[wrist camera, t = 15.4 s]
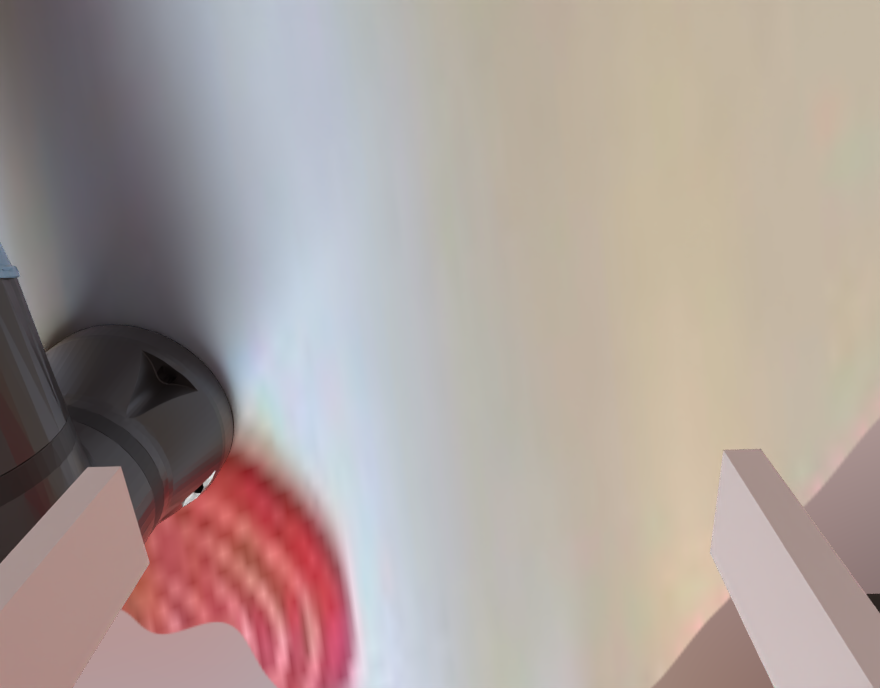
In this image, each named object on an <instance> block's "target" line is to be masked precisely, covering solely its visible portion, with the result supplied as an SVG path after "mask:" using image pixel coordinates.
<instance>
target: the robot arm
mask: <svg viewBox="0 0 880 688" xmlns="http://www.w3.org/2000/svg"><path fill="white" fill-rule="evenodd" d="M19 276H20V275H19V271H18V270H17V268H16V267H15V266H12V265H11V263H10V261H9V259H8V257H7V255H6V253H5V251H4V249H3V247H2V245H1V243H0V688H73V686H74V684H75V683H76V681H77V680H78V678H79V676H80V675H81V673H82V672H83V670H84V668H85V667H86V665H87V663H88V662H89V660H90V659H91V657H92V655H93V654H94V652H95V651H96V649H97V647H98V646H99V644H100V643H101V641H102V639H103V638H104V636H105V634H106V633H107V631H108V630H109V628H110V626H111V625H112V623H113V622H114V620H115V618H116V617H117V615H118V613H119V612H120V610H121V609H122V607H123V605H124V604H125V602H126V601H127V599H128V597H129V596H130V594H131V592H132V591H133V589H134V588H135V586H136V584H137V583H138V581H139V580H140V578H141V576H142V575H143V573H144V571H145V570H146V568H147V567H148V565H149V559H148V556H147V553H146V549H145V546H144V544H145V542H146V541H147V539H148V537H149V536H150V534H151V533H152V531H153V530H154V528H155V527H156V525H158V524H159V523H161V522H162V521H164V520H165V519H167V518H168V517H170V516H171V515H173V514H174V513H176V512H177V511H178V510H180V509H181V508H182V507H183V506H185V505H187V504H189V503H190V502H192V501H193V500H195V499H196V498H197V497H199V496H200V495H201V494H202V493H203V492H204V491H205V490H206V489H207V488H208V487H209V486H210V485H211V483H212V482H213V481H214V479H215V478H216V476H217V474H218V473H219V471H220V469H221V468H222V466H223V464H224V463H225V461H226V459H227V457H228V454H229V452H230V449H231V445H232V440H233V419H232V413H231V409H230V406H229V403H228V400H227V398H226V395H225V393H224V391H223V389H222V387H221V386H220V384H219V382H218V381H217V379H216V378H215V376H214V375H213V374H212V373H211V371H210V370H209V369H208V368H207V367H206V366H205V365H204V364H203V363H202V362H201V361H200V360H199V359H198V358H197V357H196V356H195V355H194V354H192V353H191V352H190V351H188V350H187V349H186V348H184V347H183V346H181V345H180V344H178V343H176V342H174V341H173V340H171V339H169V338H167V337H165V336H162V335H160V334H158V333H155V332H152V331H149V330H146V329H142V328H137V327H132V326H125V325H103V326H96V327H91V328H87V329H84V330H81V331H78V332H76V333H74V334H72V335H70V336H68V337H66V338H65V339H63V340H62V341H60V342H59V343H58V344H56V345H55V346H53V347H52V348H51V349H49V350H48V351H47V352H45V351H44V348H43V345H42V343H41V340H40V337H39V335H38V332H37V329H36V327H35V324H34V321H33V319H32V316H31V313H30V311H29V308H28V305H27V303H26V300H25V297H24V295H23V292H22V289H21V287H20V284H19V281H18V279H17V277H19ZM710 554H711V556H712V558H713V560H714V562H715V564H716V566H717V569H718V571H719V573H720V575H721V577H722V579H723V581H724V583H725V585H726V588H727V590H728V592H729V594H730V596H731V598H732V600H733V602H734V604H735V606H736V608H737V611H738V613H739V615H740V617H741V619H742V621H743V623H744V625H745V628H746V630H747V632H748V634H749V636H750V638H751V640H752V642H753V644H754V646H755V649H756V651H757V653H758V655H759V657H760V659H761V661H762V663H763V665H764V667H765V670H766V672H767V674H768V676H769V678H770V680H771V682H772V684H773V686H774V688H880V594H866V593H865V592H864V591H863V589H862V588H861V587H860V585H859V584H858V582H857V581H856V580H855V578H854V577H853V576H852V574H851V573H850V571H849V570H848V569H847V567H846V566H845V564H844V563H843V562H842V561H841V559H840V558H839V556H838V555H837V554H836V552H835V551H834V549H833V548H832V546H831V545H830V544H829V542H828V541H827V540H826V538H825V537H824V535H823V534H822V533H821V531H820V530H819V529H818V527H817V526H816V524H815V523H814V522H813V520H812V519H811V517H810V516H809V515H808V513H807V512H806V511H805V509H804V508H803V506H802V505H801V504H800V502H799V501H798V500H797V498H796V497H795V495H794V494H793V493H792V491H791V490H790V489H789V487H788V486H787V484H786V483H785V482H784V480H783V479H782V477H781V476H780V475H779V473H778V472H777V471H776V469H775V468H774V466H773V465H772V464H771V462H770V461H769V460H768V458H767V457H766V455H765V454H764V453H763V451H762V450H761V449H740V450H724V451H723V458H722V466H721V473H720V481H719V489H718V496H717V504H716V512H715V519H714V527H713V535H712V542H711V550H710Z"/></svg>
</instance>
